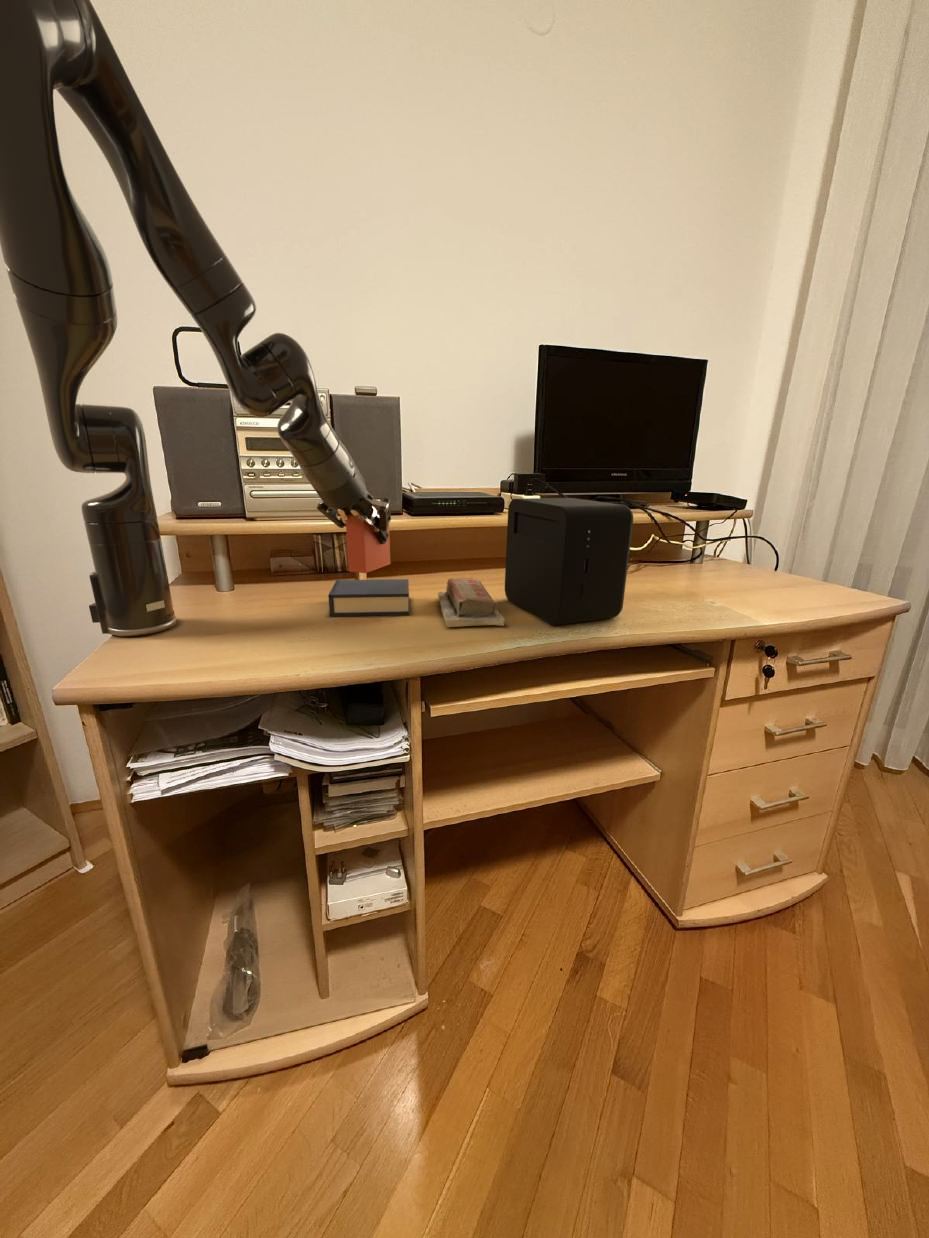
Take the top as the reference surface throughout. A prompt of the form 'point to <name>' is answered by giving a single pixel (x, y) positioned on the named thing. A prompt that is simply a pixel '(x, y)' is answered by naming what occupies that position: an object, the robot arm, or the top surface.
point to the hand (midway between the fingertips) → (374, 539)
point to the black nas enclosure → (567, 558)
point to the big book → (369, 597)
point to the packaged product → (468, 604)
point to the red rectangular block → (365, 547)
